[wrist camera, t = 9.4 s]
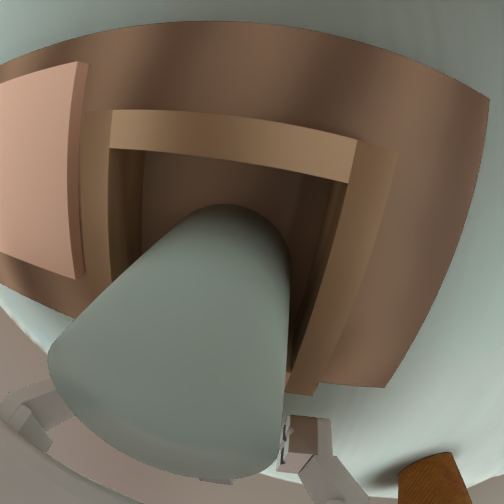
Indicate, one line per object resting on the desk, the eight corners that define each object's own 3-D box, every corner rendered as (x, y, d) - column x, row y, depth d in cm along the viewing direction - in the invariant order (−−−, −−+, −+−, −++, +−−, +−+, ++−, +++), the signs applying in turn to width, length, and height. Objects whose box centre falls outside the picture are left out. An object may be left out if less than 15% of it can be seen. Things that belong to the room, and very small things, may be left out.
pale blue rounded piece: (294, 365, 13) (285, 512, 6) (196, 363, 14) (145, 489, 7) (286, 198, 10) (270, 344, 3) (157, 210, 11) (13, 317, 4)
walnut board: (477, 99, 8) (527, 97, 5) (381, 375, 14) (392, 423, 11) (-5, 72, 10) (-44, 74, 6) (3, 274, 16) (-26, 296, 12)
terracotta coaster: (88, 63, 9) (77, 61, 8) (84, 272, 13) (75, 279, 12) (-16, 93, 9) (-25, 94, 8) (-12, 238, 13) (-20, 243, 13)
